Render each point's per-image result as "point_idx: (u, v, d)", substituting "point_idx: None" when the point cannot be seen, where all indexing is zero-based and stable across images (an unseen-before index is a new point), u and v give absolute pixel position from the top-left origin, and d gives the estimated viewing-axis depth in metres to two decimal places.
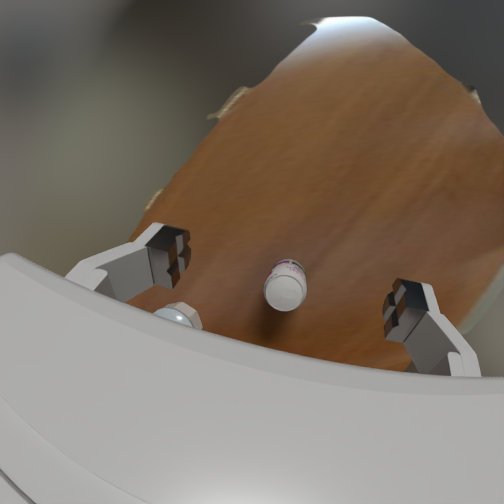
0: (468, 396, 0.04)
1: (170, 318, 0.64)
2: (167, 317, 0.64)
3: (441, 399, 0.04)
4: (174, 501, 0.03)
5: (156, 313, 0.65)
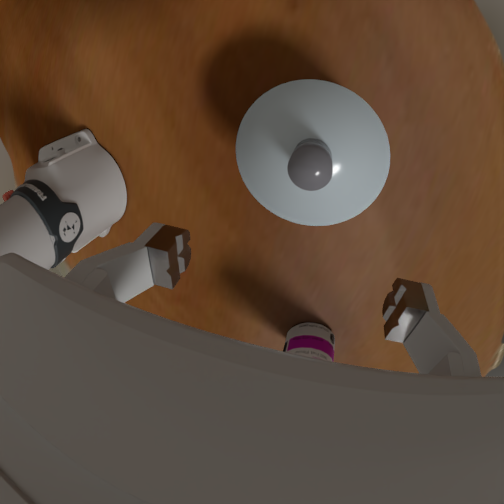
0: (468, 396, 0.04)
1: (352, 183, 0.21)
2: (358, 176, 0.21)
3: (441, 399, 0.04)
4: (174, 501, 0.03)
5: (383, 150, 0.19)
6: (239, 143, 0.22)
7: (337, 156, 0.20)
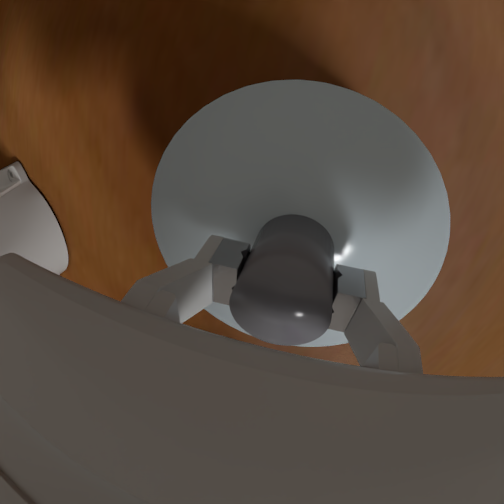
0: (468, 396, 0.04)
1: None
2: (381, 285, 0.11)
3: (441, 399, 0.04)
4: (174, 501, 0.03)
5: (437, 240, 0.09)
6: (157, 217, 0.12)
7: (345, 251, 0.10)
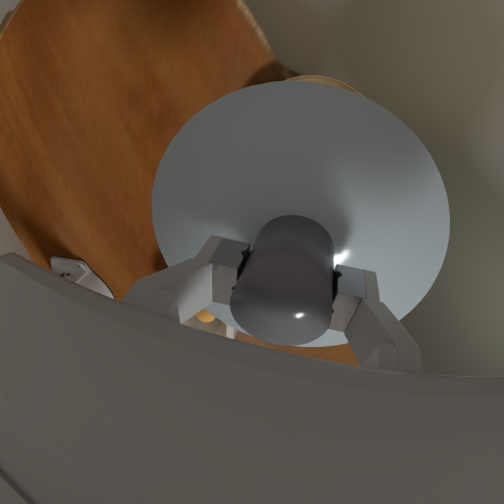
0: (468, 396, 0.04)
1: None
2: (381, 285, 0.11)
3: (441, 399, 0.04)
4: (174, 501, 0.03)
5: (437, 241, 0.09)
6: (158, 217, 0.12)
7: (345, 252, 0.10)
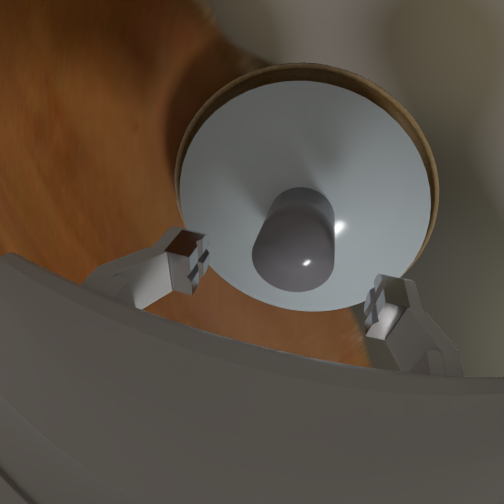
0: (468, 396, 0.04)
1: (363, 259, 0.14)
2: (375, 249, 0.13)
3: (441, 399, 0.04)
4: (174, 501, 0.03)
5: (420, 210, 0.11)
6: (185, 191, 0.14)
7: (343, 218, 0.13)
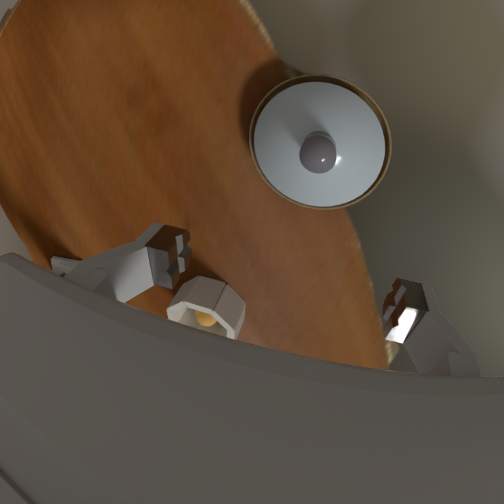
0: (468, 396, 0.04)
1: (352, 170, 0.25)
2: (358, 164, 0.24)
3: (441, 399, 0.04)
4: (174, 501, 0.03)
5: (379, 142, 0.22)
6: (257, 133, 0.25)
7: (340, 147, 0.24)
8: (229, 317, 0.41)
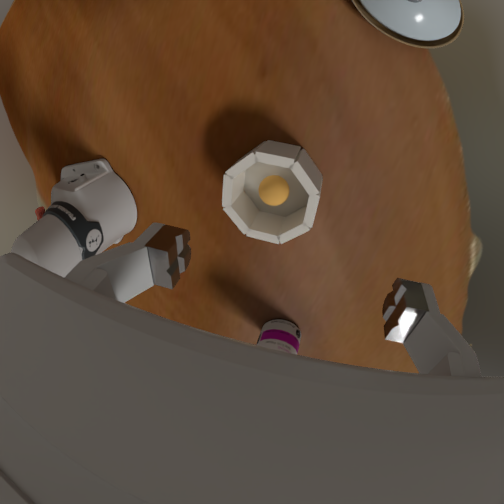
0: (468, 396, 0.04)
1: (439, 13, 0.14)
2: (442, 10, 0.14)
3: (441, 399, 0.04)
4: (174, 501, 0.03)
5: None
6: None
7: None
8: (312, 178, 0.30)
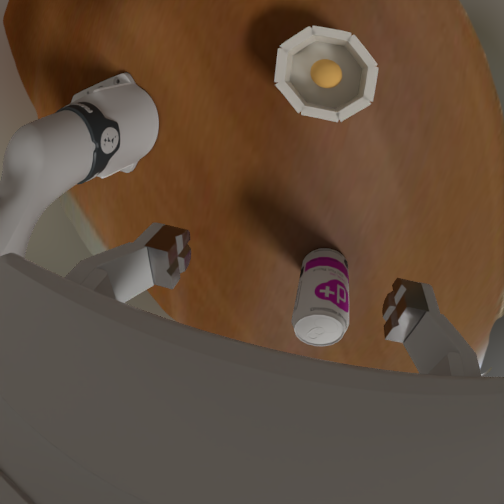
0: (468, 396, 0.04)
1: None
2: None
3: (441, 399, 0.04)
4: (174, 501, 0.03)
5: None
6: None
7: None
8: None
